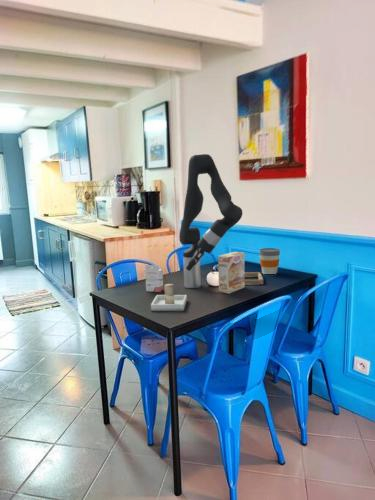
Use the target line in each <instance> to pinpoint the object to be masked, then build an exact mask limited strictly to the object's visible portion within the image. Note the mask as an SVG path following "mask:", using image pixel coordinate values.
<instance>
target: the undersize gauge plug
mask: <svg viewBox="0 0 375 500" xmlns="http://www.w3.org/2000/svg"><path fill="white" fill-rule="evenodd" d="M163 288H164V295H165V304H174V295H175V285H174V284H173V283H166V284H163Z"/></svg>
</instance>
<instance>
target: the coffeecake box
mask: <svg viewBox="0 0 375 500" xmlns="http://www.w3.org/2000/svg"><path fill="white" fill-rule="evenodd" d="M217 257H218V258H217V261H218V267H217V268H218V292H219V293H225V294H229V295H230V294H231V293H234V292H236V291H239V290H241V289H244V288H245V287H246V285H245V280H246V279H245V278H246V277H245V252H241V251H240V252H239V251H234V252H233V251H232V252H229V253H223V254H221V255H220V254H219V255H218V256H217Z"/></svg>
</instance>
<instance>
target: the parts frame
mask: <svg viewBox="0 0 375 500" xmlns="http://www.w3.org/2000/svg"><path fill="white" fill-rule="evenodd" d="M245 278H257V279H245V286H256V285H258V286H259V285H260V284H261V285H264V278H263V276H262V272H258V271H256V272H255V271H254V272H253V271H252V272H247V271H246V272H245ZM261 285H260V286H261Z"/></svg>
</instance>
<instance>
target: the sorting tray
mask: <svg viewBox="0 0 375 500" xmlns="http://www.w3.org/2000/svg"><path fill="white" fill-rule="evenodd" d="M187 296H188V295H187V294H174V304H165V294H156V296H155V297H154V298H153V300H152V302H151V303H150V311H151V312H172V311H173V312H184V311H185V308H186V306H187V305H186V304H187V302H188V298H187Z"/></svg>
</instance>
